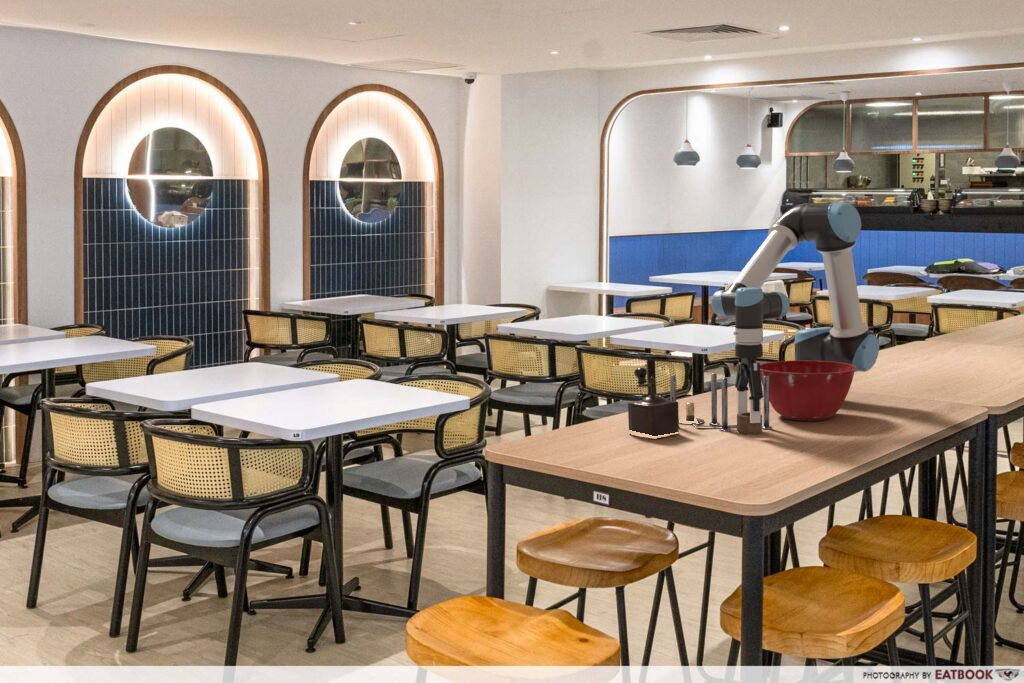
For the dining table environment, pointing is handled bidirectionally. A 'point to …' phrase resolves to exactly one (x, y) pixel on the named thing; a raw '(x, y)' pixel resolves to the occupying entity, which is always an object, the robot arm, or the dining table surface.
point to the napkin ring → (748, 424)
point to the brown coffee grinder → (652, 411)
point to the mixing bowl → (807, 387)
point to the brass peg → (691, 412)
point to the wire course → (725, 401)
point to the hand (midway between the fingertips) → (748, 418)
